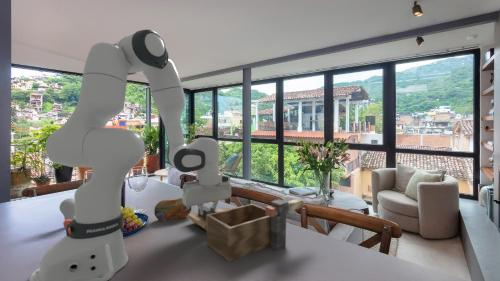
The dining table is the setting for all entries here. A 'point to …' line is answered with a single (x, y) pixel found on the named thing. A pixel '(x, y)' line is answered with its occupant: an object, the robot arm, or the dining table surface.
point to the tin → (171, 210)
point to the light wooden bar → (292, 206)
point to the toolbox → (246, 230)
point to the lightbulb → (68, 208)
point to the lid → (203, 216)
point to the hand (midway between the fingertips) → (207, 212)
